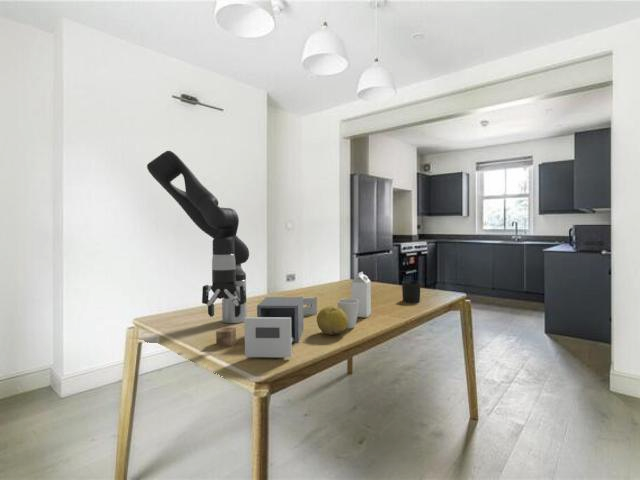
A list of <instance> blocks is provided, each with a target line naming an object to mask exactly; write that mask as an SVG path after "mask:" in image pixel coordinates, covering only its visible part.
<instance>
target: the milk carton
mask: <svg viewBox="0 0 640 480" xmlns="http://www.w3.org/2000/svg"><path fill="white" fill-rule="evenodd" d="M371 283H372V282H371V279H369V276H367V275H366V274H364V271H361V272H358V275H357V276H356V277H355V278H354V279H352V280H351V282H350V299H354V300H358V314H357V318H369V316H370V315H371V314H372V308H371V307H372V305H371V304H372V303H371V302H372V299H371V298H372V297H371V295H372V294H371V293H372V291H371V290H372V289H371V288H372V287H371V286H372V285H371Z"/></svg>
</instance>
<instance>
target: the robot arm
mask: <svg viewBox="0 0 640 480" xmlns="http://www.w3.org/2000/svg"><path fill="white" fill-rule="evenodd" d="M146 168H147V171H148V172H149V174H150V175H151V176H152V177H153V178H154V180H155V181H156V182H157V183H158V184H159V185H160V186H161V187H162V189H164V190H165V191H166V192H167V193H168V194H169V196H171V197H172V198H173V200H175V202H176V203H178V205H179V206H180V207H181V209H182V210H183V211H184V212H185V213H186V215H187V216H188V217H189V218H190V220H192V222H193V223H194V224H195V225H196V226H197V227H198V228H199V229H200V230H201V231H202V232H203V233H205V234H206V235H208V236H209V237H211V238H212V259H211V282H212V284H211V285H209V284H205V285H203V286H202V291H201V292H202V296H201V297H202V298H201V303H202V305H204V304H205V305H207V314H208V316H209V317H211V318H213V317H214V316H215V304H214V303H215V302H216V300H217V299H219V300H220V299H221V305H222V306H221V308H222V309H221V310H222V311H221V312H222V313H221V314H222V316H221V317H222V318H221V321H222V323H227V324H240V323H244V318H245V317H248V315H247V312H248V311H247V275H246V272H245V271H244V270H243V268H242V264H245V263H247V261H248V260H249V257H250V250H249V247H248V246H247V245H246V243H245V242H244V241H243V240H242V239H241V238H239V236H238V235H237V233H238V228H239V224H240V223H239V222H240V220H239V215H238V213H237V211H236V209H233V208H231V207H230V208H229V207H220V206H219V200H218V198H217V197H216V196H215V195H214V194H213V193H212V192H211V191H210V190H209V189H207V188H206V186H204V185H203V184H202V182H200V180H199V179H198V178H197V176H196V175H195V174H194V173H193V172H192V171H191V169H189V167H188V166H187V164H186V163H184V162H183V160H182V159H181V158H180V157H179V156H178V155H177V154H176V153H175V152H173V151H171V150H166V151H164V152H163V153H161V154H160V155H159V156H156V157H155V158H154V159H153V160H151V161H150V162H148V164H146ZM180 175H182V177H183V180H184V188H185V190H183V189H180V188H178V187H176V186H175V185H174V184H172V181H174V180H175V179H176V178H178V177H179V176H180ZM211 291H212V293H213V294H212V295H211V296H210V299H209V295H210V292H211Z"/></svg>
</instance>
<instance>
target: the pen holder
mask: <svg viewBox="0 0 640 480" xmlns="http://www.w3.org/2000/svg"><path fill="white" fill-rule="evenodd" d="M401 291H402V301H403V302H404V303H419V302H420V301H421V281H419V280H411V281H408V282H407V281H404V280H403V281H401Z"/></svg>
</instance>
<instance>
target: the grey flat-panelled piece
mask: <svg viewBox="0 0 640 480" xmlns="http://www.w3.org/2000/svg"><path fill="white" fill-rule="evenodd" d="M243 323H244V325H243V326H244V357H245V358H292V357H293V354H292V353H293V352H292V350H293V349H292V347H293V346H292V345H293V344H292V343H293V342H292V341H293V337H291V317H257V316H256V317H255V316H253V317H251V316H250V317H249V316H247V317H245V318H244V322H243Z"/></svg>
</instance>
